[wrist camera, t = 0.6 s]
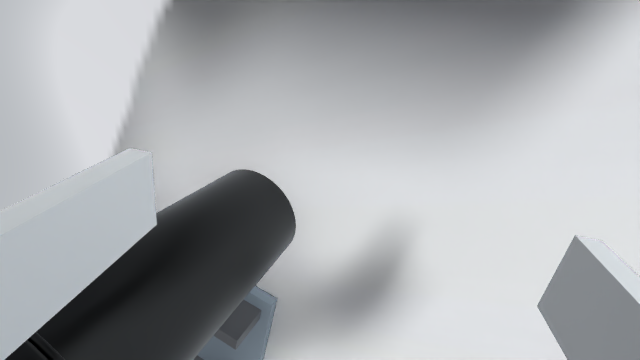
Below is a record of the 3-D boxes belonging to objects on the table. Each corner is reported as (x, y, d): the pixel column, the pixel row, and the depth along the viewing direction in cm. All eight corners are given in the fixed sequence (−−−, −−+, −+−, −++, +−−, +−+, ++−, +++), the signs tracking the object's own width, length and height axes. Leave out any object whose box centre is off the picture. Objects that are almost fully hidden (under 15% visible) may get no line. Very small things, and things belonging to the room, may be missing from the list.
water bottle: (205, 227, 35) (-126, 473, 17) (215, 140, 30) (-262, 363, 11) (290, 277, 33) (13, 630, 14) (317, 193, 27) (-73, 589, 9)
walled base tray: (131, 214, 40) (89, 238, 36) (277, 298, 35) (247, 336, 31) (141, 320, 51) (109, 347, 47) (254, 397, 46) (230, 435, 41)
